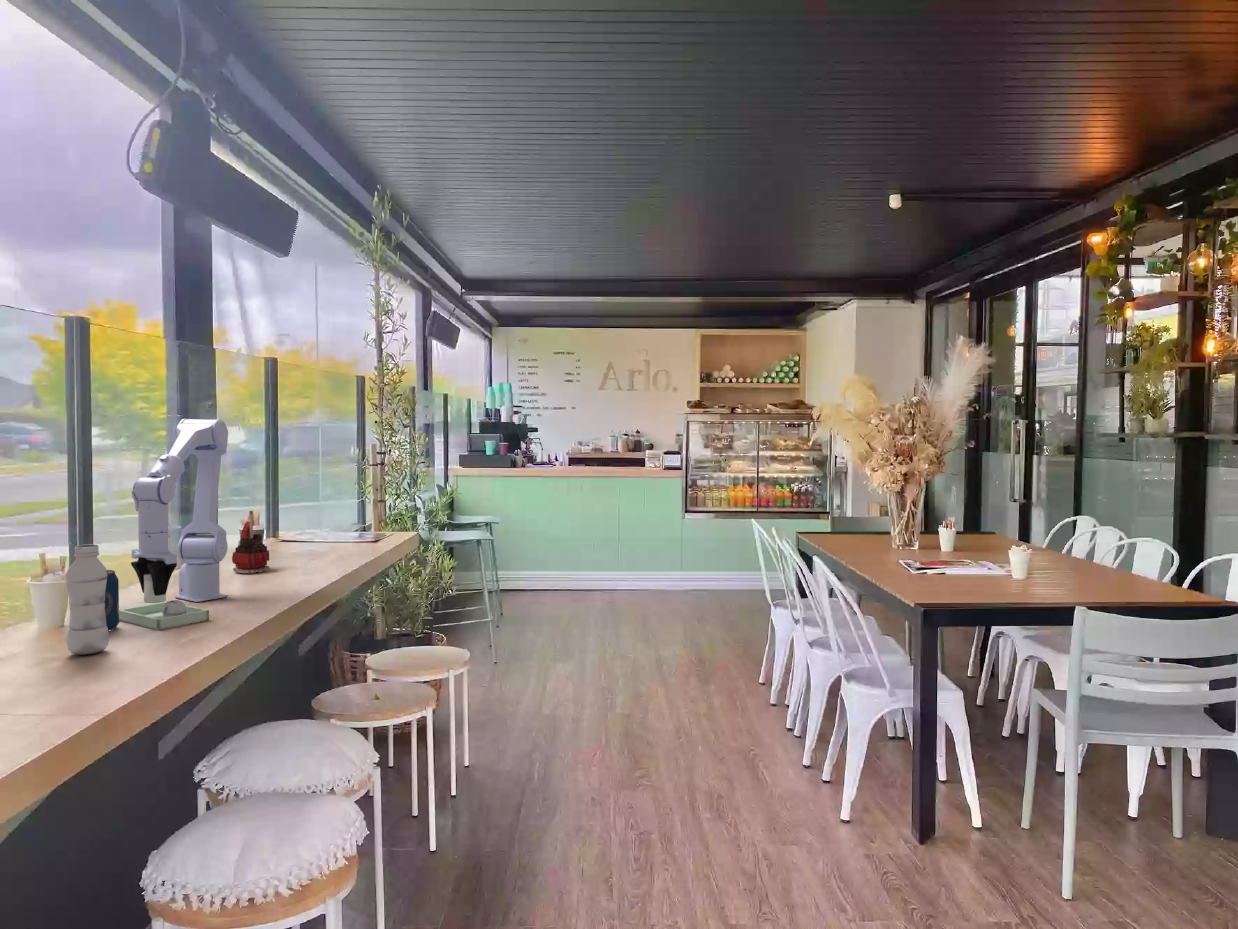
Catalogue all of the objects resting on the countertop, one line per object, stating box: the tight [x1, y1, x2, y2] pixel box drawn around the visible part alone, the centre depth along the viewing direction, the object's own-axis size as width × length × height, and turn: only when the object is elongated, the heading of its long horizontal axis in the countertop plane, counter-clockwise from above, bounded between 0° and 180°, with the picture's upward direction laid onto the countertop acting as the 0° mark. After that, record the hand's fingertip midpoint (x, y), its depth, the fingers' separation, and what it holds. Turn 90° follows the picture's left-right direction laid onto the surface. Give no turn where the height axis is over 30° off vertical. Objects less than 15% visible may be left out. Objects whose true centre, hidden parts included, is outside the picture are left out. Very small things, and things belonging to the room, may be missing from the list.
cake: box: [231, 510, 270, 575], centre depth 235 cm, size 11×9×18 cm
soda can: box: [104, 569, 120, 632], centre depth 166 cm, size 7×7×12 cm
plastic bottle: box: [64, 544, 110, 656], centre depth 148 cm, size 6×7×20 cm
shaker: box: [143, 573, 167, 604], centre depth 177 cm, size 4×4×6 cm
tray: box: [119, 600, 210, 631], centre depth 175 cm, size 16×11×2 cm
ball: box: [162, 599, 187, 618], centre depth 173 cm, size 5×5×5 cm
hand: (154, 593), depth 177 cm, fingers closed on shaker, 4 cm apart
